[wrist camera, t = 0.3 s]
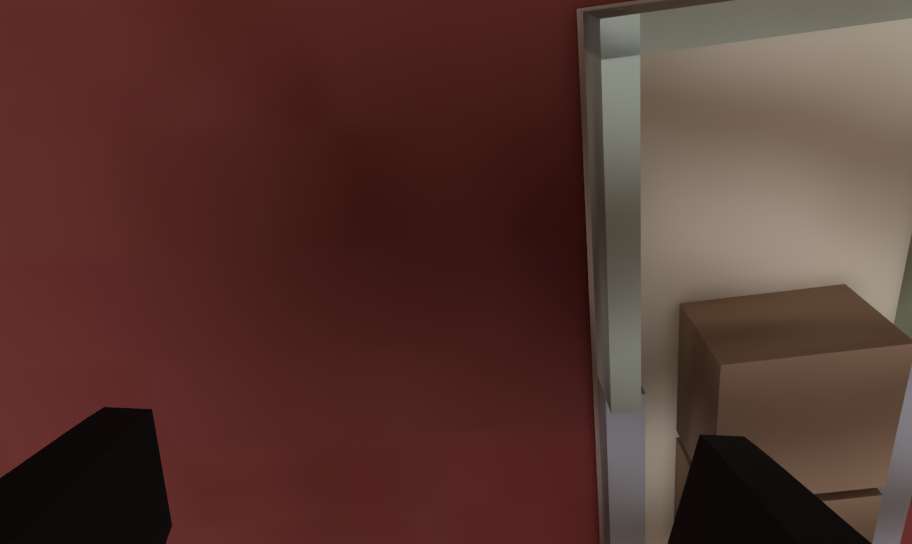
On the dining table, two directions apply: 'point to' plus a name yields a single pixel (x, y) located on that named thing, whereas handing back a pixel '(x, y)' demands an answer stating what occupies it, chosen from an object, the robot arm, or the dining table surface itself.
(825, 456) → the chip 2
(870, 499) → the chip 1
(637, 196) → the slot board
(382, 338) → the dining table surface
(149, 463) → the robot arm
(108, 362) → the dining table surface
